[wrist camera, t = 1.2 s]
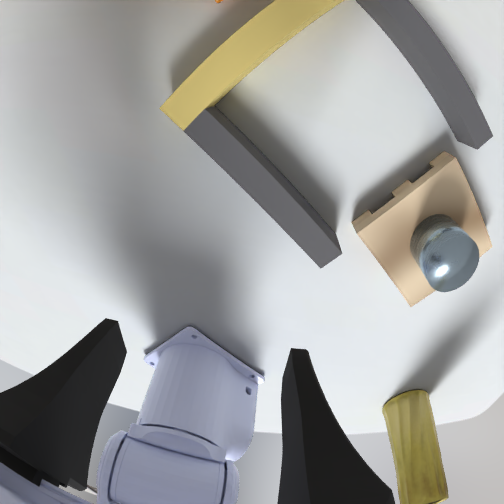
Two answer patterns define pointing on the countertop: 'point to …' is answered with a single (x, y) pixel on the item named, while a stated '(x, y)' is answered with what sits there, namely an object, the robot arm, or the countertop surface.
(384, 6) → the frame
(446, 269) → the steel cylinder puck
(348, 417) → the countertop surface
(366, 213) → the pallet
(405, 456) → the vase
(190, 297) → the countertop surface
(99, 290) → the countertop surface
